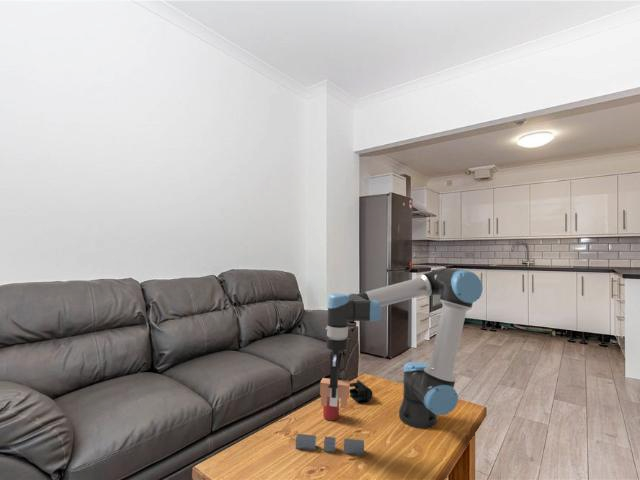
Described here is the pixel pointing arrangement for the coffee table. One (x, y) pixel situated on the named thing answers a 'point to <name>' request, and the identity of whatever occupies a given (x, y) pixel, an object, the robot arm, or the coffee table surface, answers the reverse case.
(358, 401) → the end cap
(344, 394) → the salmon pink bridge block
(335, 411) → the beer can
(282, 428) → the coffee table surface
